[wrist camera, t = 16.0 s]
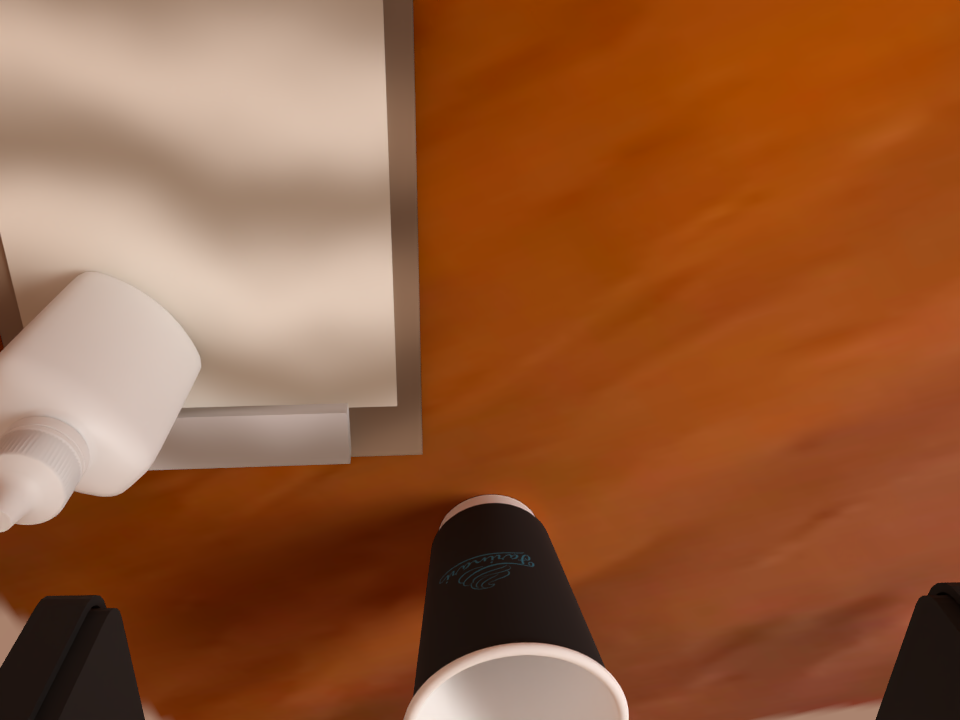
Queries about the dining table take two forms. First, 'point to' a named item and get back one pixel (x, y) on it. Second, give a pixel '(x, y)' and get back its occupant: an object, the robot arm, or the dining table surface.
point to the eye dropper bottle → (88, 396)
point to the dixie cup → (505, 626)
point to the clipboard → (229, 206)
